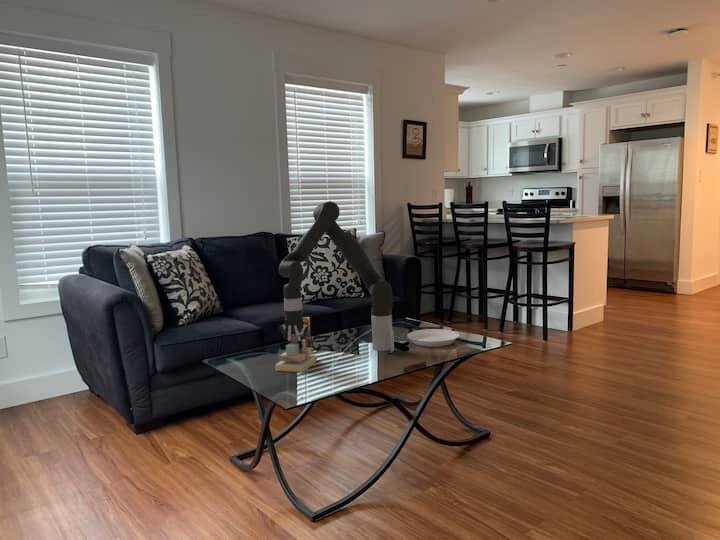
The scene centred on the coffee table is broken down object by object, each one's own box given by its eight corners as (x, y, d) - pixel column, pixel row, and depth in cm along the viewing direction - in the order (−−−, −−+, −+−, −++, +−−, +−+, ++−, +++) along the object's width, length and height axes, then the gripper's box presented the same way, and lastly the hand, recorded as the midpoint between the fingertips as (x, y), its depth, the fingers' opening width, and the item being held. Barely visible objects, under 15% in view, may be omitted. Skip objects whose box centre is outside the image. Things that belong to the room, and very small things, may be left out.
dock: (317, 364, 240) (317, 355, 240) (303, 375, 225) (302, 365, 224) (291, 363, 244) (290, 354, 243) (275, 374, 228) (275, 364, 228)
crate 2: (297, 348, 239) (296, 339, 239) (305, 348, 238) (305, 339, 238) (293, 350, 236) (292, 341, 235) (302, 351, 234) (301, 341, 234)
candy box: (292, 350, 264) (290, 319, 262) (292, 348, 268) (290, 317, 266) (311, 349, 265) (309, 317, 263) (311, 347, 269) (309, 316, 268)
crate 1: (290, 352, 233) (289, 343, 232) (299, 353, 232) (298, 343, 231) (286, 355, 229) (285, 345, 228) (295, 355, 228) (294, 346, 227)
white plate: (402, 348, 260) (402, 340, 260) (413, 335, 284) (412, 328, 284) (456, 349, 253) (455, 342, 253) (462, 336, 277) (462, 329, 276)
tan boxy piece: (292, 351, 242) (290, 329, 241) (313, 352, 239) (312, 329, 238) (278, 360, 229) (276, 337, 227) (301, 361, 226) (299, 337, 224)
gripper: (312, 306, 233) (314, 347, 235) (281, 306, 237) (284, 346, 239) (305, 310, 226) (308, 351, 228) (274, 310, 230) (276, 350, 232)
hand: (295, 348), depth 233 cm, fingers closed on tan boxy piece, 3 cm apart
